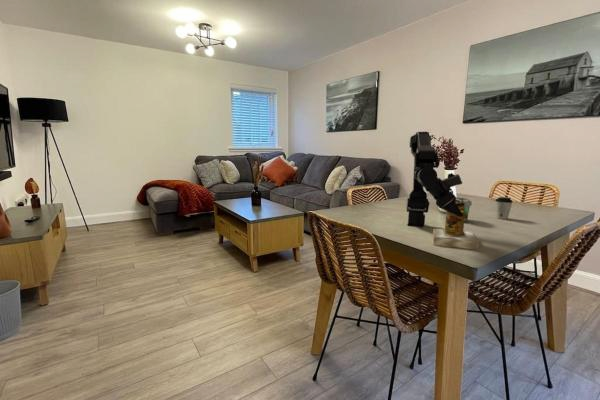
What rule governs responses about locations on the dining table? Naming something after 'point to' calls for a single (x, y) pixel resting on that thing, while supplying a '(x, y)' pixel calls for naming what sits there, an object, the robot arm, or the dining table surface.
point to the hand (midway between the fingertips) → (460, 213)
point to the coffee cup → (503, 207)
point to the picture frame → (455, 240)
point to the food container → (465, 206)
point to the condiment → (455, 222)
